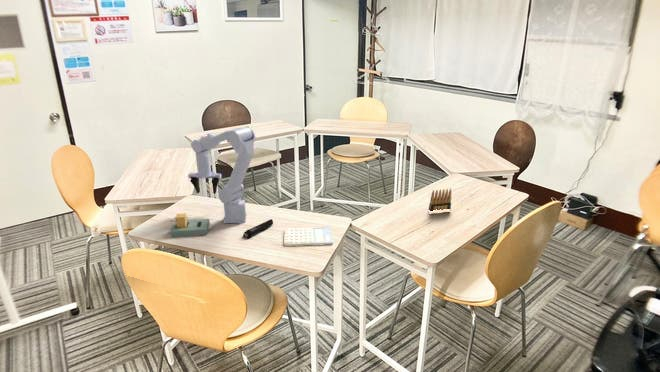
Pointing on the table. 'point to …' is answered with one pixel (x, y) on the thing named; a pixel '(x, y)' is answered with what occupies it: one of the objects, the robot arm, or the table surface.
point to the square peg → (181, 220)
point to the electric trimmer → (257, 229)
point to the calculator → (308, 236)
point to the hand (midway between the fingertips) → (206, 192)
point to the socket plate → (192, 228)
